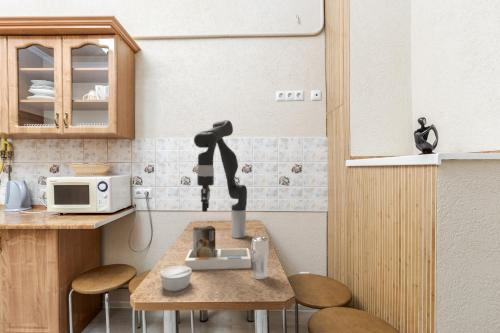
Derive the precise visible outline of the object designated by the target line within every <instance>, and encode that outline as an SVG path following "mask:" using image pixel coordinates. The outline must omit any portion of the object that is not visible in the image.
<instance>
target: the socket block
mask: <svg viewBox="0 0 500 333" xmlns="http://www.w3.org/2000/svg"><path fill="white" fill-rule="evenodd" d="M215 253H216V257H196V258H193V249H189V251H188V254H187V255H186V257H185V259H184V266H187V267H190V268H191V270H192V271H198V270H223V269H224V270H230V269H231V270H234V269H251V268H252V256H251V253H250V250H249V248H248V247H245V248H241V247H240V248H239V247H238V248H215Z"/></svg>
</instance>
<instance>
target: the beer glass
mask: <svg viewBox="0 0 500 333" xmlns="http://www.w3.org/2000/svg"><path fill="white" fill-rule="evenodd" d="M250 250H251V261H252V264H253V266H252V267H253V269H252V274H251V275H252V278H253V279H256V280H261V281H262V280H265V279H267V278H268V270H267V265H268V260H269V253H270V251H269V250H270V247H269V238H268V237H265V236H264V237H263V236H255V237H252V239H251V249H250Z"/></svg>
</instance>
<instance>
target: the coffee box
mask: <svg viewBox="0 0 500 333" xmlns="http://www.w3.org/2000/svg"><path fill="white" fill-rule="evenodd" d="M192 230H193V231H192V234H193V235H192V239H193V244H192V245H193V246H192V247H193V248H192V250H193V258H196V257H216V253H215V249H216V227H214V226H213V225H206V226H205V225H203V226H194V227H192Z"/></svg>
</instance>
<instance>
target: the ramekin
mask: <svg viewBox="0 0 500 333" xmlns="http://www.w3.org/2000/svg"><path fill="white" fill-rule="evenodd" d="M192 271H193V270H191V268H190V267H187V266H185V265H173V266H169V267H166V268H163V269H162V270H161V272H160V279H161V285H162V287H163V289H164V290H166V291H169V292H177V291H182V290H184V289H185V288H187V287H188V286H189V284H190V282H191V275H192Z"/></svg>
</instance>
